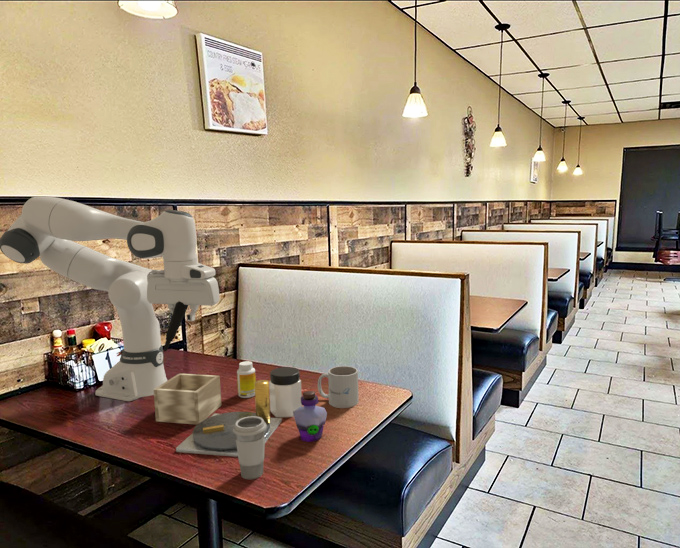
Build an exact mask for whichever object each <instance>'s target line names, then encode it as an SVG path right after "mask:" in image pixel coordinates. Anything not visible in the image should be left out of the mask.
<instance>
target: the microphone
mask: <svg viewBox="0 0 680 548" xmlns="http://www.w3.org/2000/svg"><path fill="white" fill-rule="evenodd" d="M188 308H189V305H184V304H183V303H182V302H180V301H179V302H177V303H176V305H175V308H174V311H173V314H172V315H171V318H170V320H169V321H170V322H169V324H168V325H169V326H168V328H167V331H166V335H165V343H164V347H163V352H167V351H168V348H169V347H170V345H171V343H172V342H173V341H174V339H175V338H176V335H177V334H178V331H179V328H180V326H181V325H182V324H181V323H182V322H183V320H184V317H185V314H186V312H187V310H188Z"/></svg>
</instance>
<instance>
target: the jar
mask: <svg viewBox="0 0 680 548" xmlns="http://www.w3.org/2000/svg"><path fill="white" fill-rule="evenodd" d="M300 375H301V374H300V370H299V369H298V368H296V367H294V366H293V367H292V366H282V367H277V368H274V369H272V370H271V371H270V373H269V377H270V380H268V381H269V398H270V414H272V415H273V416H274V418H294V414H293V411H295V410H296V409H298V408H300V407H303V405H302V404H301V397H302V396H303V392H302V380H301V379H300Z"/></svg>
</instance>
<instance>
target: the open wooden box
mask: <svg viewBox="0 0 680 548" xmlns="http://www.w3.org/2000/svg"><path fill="white" fill-rule="evenodd" d="M221 389H222V388H221V376H220V375H216V374H215V375H211V374H198V373H197V374H195V373H177V374H176V375H174V376H173V377H171V378H169V379H167V381H166V382H165V383H163V384H162V385H160V386H158V387H157V388H155V389H154V395H153V401H154V413H155V422H160V423H173V424H174V423H175V424H183V425H184V424H188V425H195V426H197V425H198V424H199V423H200V422H202V421H203V420H205V419H207V418H210V417H211V416H212V415H213V414H214V413H215V412H216V411H217V410H218V409H219V408H221V406H222V390H221Z"/></svg>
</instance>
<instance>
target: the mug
mask: <svg viewBox="0 0 680 548" xmlns="http://www.w3.org/2000/svg"><path fill="white" fill-rule="evenodd" d="M323 378H327V379H328V394H327V393H325V392H324V391H323V388H322V380H323ZM317 391H318V393H319V394H320V396H321V397H323V398H324V399H328V404H329V405H330V406H331V407H334V408H339V409H347V408H352V407H355V406H357V405H358V404H359V370H358V368H356V367H354V366H349V365H339V366H338V365H337V366H334V367H331V368H329V369H328V371H327V373H322V374H321V375H319V378H318V380H317Z"/></svg>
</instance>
